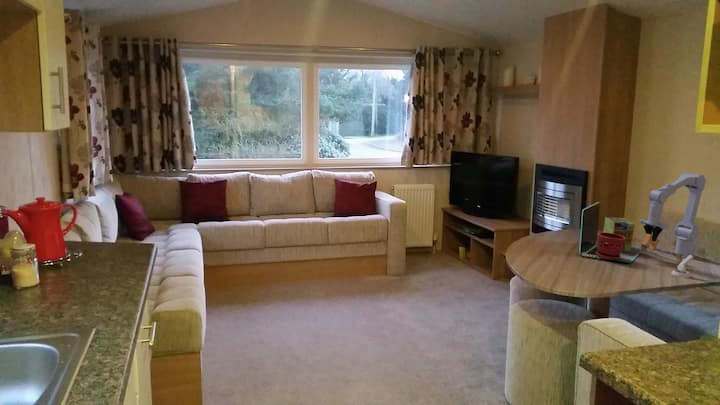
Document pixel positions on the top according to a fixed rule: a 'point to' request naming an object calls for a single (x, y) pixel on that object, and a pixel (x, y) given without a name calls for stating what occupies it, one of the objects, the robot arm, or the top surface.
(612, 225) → the protein box
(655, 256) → the stand
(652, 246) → the block
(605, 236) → the plant pot
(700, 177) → the robot arm
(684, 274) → the hook
